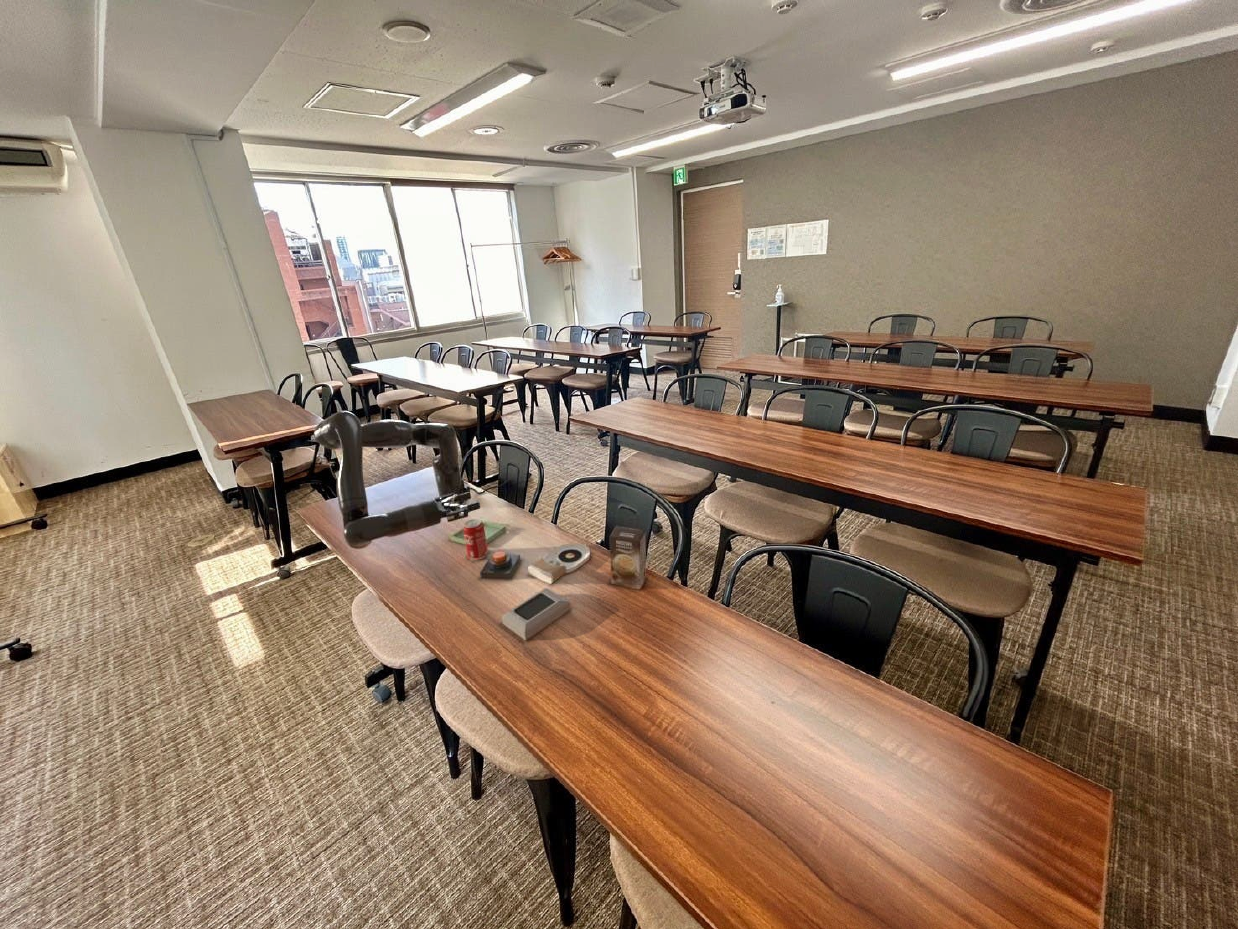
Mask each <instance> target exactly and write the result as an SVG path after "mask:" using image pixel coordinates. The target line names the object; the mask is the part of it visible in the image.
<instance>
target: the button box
mask: <svg viewBox="0 0 1238 929" xmlns="http://www.w3.org/2000/svg"><path fill="white" fill-rule="evenodd" d="M504 553H505V556H506V560H504V561H503V562H494V559H493V555H494V553H492V554H491V555H490V557H489V558H488V560H487V562H486V563H485V564H484V566H483V567H482V569H481V570H480V572H479V574H480V579H484V580H504V581H505V580H506V581H510V580H511V579H512V577H513V575H514V573H515V572H516V570H517V568H518V566H519V565H520V562H521V554H510V553H508V552H504Z"/></svg>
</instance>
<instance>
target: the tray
mask: <svg viewBox="0 0 1238 929" xmlns="http://www.w3.org/2000/svg"><path fill="white" fill-rule="evenodd" d="M477 519H478V520H480V521H481V523H482V524H483V525H484V531H485V536H486V542H487V544H489V543H490V542H492V541H493V540H495V539H496V538H497V537H499V536H500V535H501V534H503V533H504V532H505V531H507V527H506V525H504V524H503V525H502V524H498V523H494V522H491V521H487V520H484V519H479V518H477ZM449 537H450V538H449V539H450V541H452V542H455V543H459V544H463V545H466V543H465V538H464V532H463V527H462V528H461V529H459V530H457V531H456V532H454V533H453V534H451V535H450V536H449Z"/></svg>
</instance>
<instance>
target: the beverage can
mask: <svg viewBox="0 0 1238 929" xmlns="http://www.w3.org/2000/svg"><path fill="white" fill-rule="evenodd" d="M478 519H479V518H474V519H473V518H472V519H469V520H467V521H465V523H463V524H464V526H463V527H462V528H463V532H464V538H465V543H466V544H465V547H466V548H465V549H466V552H467V557H468V558H470V559H472V560H475V561H476V560H477V561H478V560H481V559H484V558H485V557H486V556H487V554H489V549H488V548H489V547H488V543H487V542H486V536H485V531H484V525H483V524H482V523H481V521H480V520H481V519H479V520H478Z"/></svg>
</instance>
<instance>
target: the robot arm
mask: <svg viewBox="0 0 1238 929" xmlns="http://www.w3.org/2000/svg"><path fill="white" fill-rule="evenodd" d="M313 436H314V439H315V441H316V442H317V443H318V444H320V445H321V447H323V448H325V449H328V450H334V451H335V450H336V451H337V450H341V457H340V465H339V469H338V473H337V478H336V486H335V487H336V496H337V501H338V507H339V510H340V511H339V512H340V514H341V516H342V524H343V538H344V540H345V543H346V544H347V546H349V547H350V548H352V549H354V550H362V549H365V548H367V547H368V546H370V545H371V543H372V541H374V540H379V539H383V538H385V537H387V538H393V537H394V538H395V537H398V536H402V535H404V534H407V533H411V532H416V531H417V532H418V531H421V530H423V529H426V528H429V527H433V526H437V525H440V524H441V522H442V519H445V518H446V519H447V522H448V523H451V522H454V521H458V520H461V519H466V518H468V517H469V513H471V512H474V511H477V510H480V509H481V504H480V501H474V502H471V503H468V504H466V503H467V502H468V500H471V499H472V493H471V491H473V492H475V494H477V495H482V494H484V493H486V492H487V491H489V490H492V489H497V488H498V489H499V488H501V487H503V486H505V485H506V484H507V483H508V482H510V483H512V482H513V481H512V479H506V480H505V481H504V482H503V483H501V484H500V485H496V486H490V487H487V488H485V489H484V490H482V491H483V492H482V491H480V492H479V491H477V489H475V488H473V487H470V485H465V480H464V479H463V478H462V475H461V470H460V463H459V447H458V438H457V433H456V430H455V428H454V427H453V426H452V425H451V424H447V423H436V422H433V423H432V422H431V423H421V424H416V423H415V424H414V423H411V422H408V421H405V420H398V419H397V420H396V419H383V420H382V419H381V420H380V419H379V420H375V421H370V422H365V423H361V421H360V419H359V418H358V416H356V415H355V414H354V413H352V412H350V411H348V410H341V411H338V412H335V413H333V414H332V415H330V416H328V417H327V418H325V419H323V420H322V421H320V422H319V423H318V424H317V425H316V426H315V428H314V431H313ZM410 446H421V447H428V448H431V449H439V454H438V455H435V456H434V457H433V458H432V460H431V463H432V468H433V469H432V470H433V473H434V478H435V479H434V480H435V481H436V487H437V492H438V496H437V497H435V498H434V499H428V500H425V501H422V502H418V503H414V504H411V505H408V506H405V507H403V508H399V509H396V510H392V511H389V512H387V513H386V512H385V513H381V514H375V515H374V514H373V515H370V514H369V502H368V497H367V492H366V491H367V490H366V486H365V478H364V463H363V462H364V460H363V459H364V458H363V453H364V452H363V450H364V449H363V448H381V449H383V448H385V449H402V448H403V449H404V448H408V447H410Z"/></svg>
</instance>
